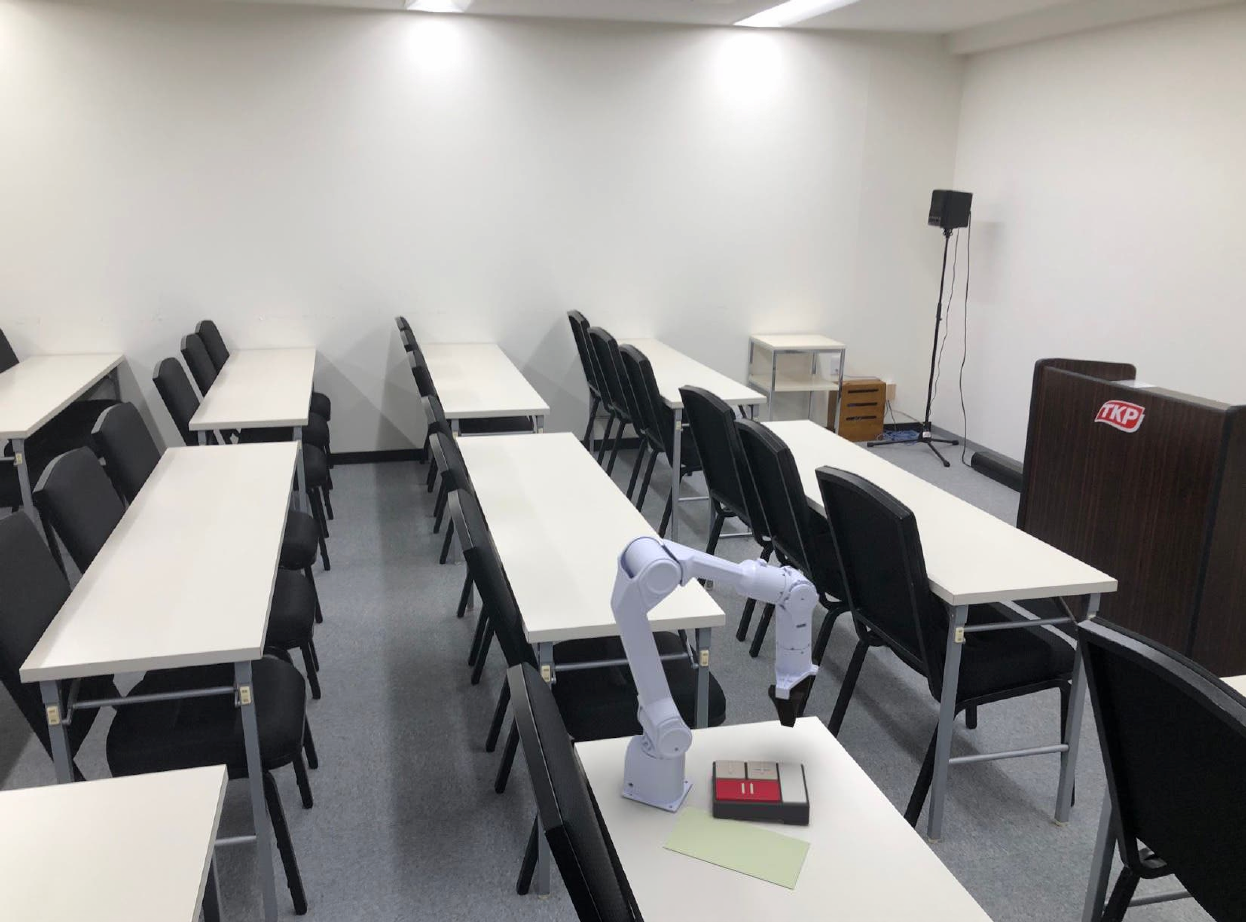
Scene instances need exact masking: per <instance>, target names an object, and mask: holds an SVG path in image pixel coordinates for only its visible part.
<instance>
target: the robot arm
mask: <svg viewBox="0 0 1246 922" xmlns="http://www.w3.org/2000/svg"><path fill="white" fill-rule="evenodd" d="M659 540H660V541H661V542H659ZM659 540H658V539H656V538H655V537H654V536H650V535H648V534H647V535H646V534H645V535H644V534H643V535H639V536H636V537H634V538H632V539H630V540H629V542H628V543H627V544H626V545H625V547H624V548H623V550H622V551H621V552H620V554H619V555H618V556H617V572H616V576H615V581H614V585H613V589H612V594H611V598H610V601H609V602H610V609H611V611H612V614H613V615H612V616H613V618H614V621H615V624H616V627H617V630H618V633H619V636H620V640H621V643H622V646H623V650H624V652H625V655H626V658H627V662H628V664H629V667H630V671H631V675H632V677H633V680H634V684H635V687H636V690H637V693H638V695H636V698H637V701H638V708H637V709H638V710H637V720H638V722H639V723H640V725H641V726H642V727H643V733H642V735H639V734H638V735H637V734H634V736H632V738H631V739H630V741H629V743H628V745H627V748H626V752H625V756H624V765H623V766H624V768H623V770H624V771H623V790H622V792H621V796H622V797H624V798H628V799H630V800H634V801H637V802H640V803H644V804H647V805H650V806H653V807H657V808H660V809H662V810H667V811H669V812H673V813H674V812H677V811H678V809H679V808H680V807H681V804H682V802H683V801H684V800H685V798H686V796H687V794H688V793H689V790H690V789H691V787H692V785H693V782H692V781H691V780H687V779H685V772H686V771H685V769H686V752H688V750H689V749H690V747H691V746H692V742H693V733H692V731H691V729H690V727H689V726H688V725H687V724H686V723H685V721H684V719H683V718H682V716H681V714H680V712H679V710H678V707H677V705H676V703H675V701H674V699H673V696H672V694H671V693H672V692H671V691H670V687H669V684H668V681H667V677H666V674H665V671H664V667H663V664H662V661H661V657H660V654H659V650H658V647H657V644H656V641H655V638H654V634H653V630H652V627H651V624H650V622H649V621H650V620H649V618H648V613H649V612H650V611H652V610H653V609H654V608H655V607H656V606H658V604H660V603H661V602H662V601H664V600H665V598H667V597H668V596H670V594H671V593H673V592H674V591H675V590H676V589H677V588H678V586H680V587H681V588H684V587H685V586H686V585H687V584H688V583H689V582H690V581H691V580H692V579H693V578H698V579H702V580H708V581H711V582H716V583H721V584H726V585H732V586H733V588H734V590H735V591H736V593H737V594H738V595H740V596H743V597H746V598H750V599H753V600H758V601H760V602H763V603H768V604H772V605H775V662H774V672H775V678H776V679H775V680H776V684H775V685H774V684H770V685H769V687H768V689H767V695H768V698H769V699H770V700H771V701H772V703H773V705H774V707H775V709H776V712H777V716H778V720H779V722H780V723H779V724H780V725H781V726H782V727H787V728H792V729H793V728H794V727H795V724H796V721H797V715H798V709H799V705H800V703H801V702H802V703H805V702H806V700H807V697H808V693H809V690H810V689H809V688H810V684H811V681H812V677H813V676H816V675H817V674H818V673H819V670H820V669H819V666H818V665H819V661H818V660H817V659H815V658H812V619H813V611H814V609H815V607H816V606H817V604H818V603H819V599H820V594H818V593H817V588H816V586H815V585H814V584H813V583H812V582H811V581H810V580H809V579H807V577H806V576H804V575H803V574H802V573H801V572H800V571H799V570H797V569H795V568H793V567H792V566H790V565H785V566H782V567H778V566H773V565H769V564H768V562H767V561H766V560H765V559H763V558H759V557H757V559H756V560H752V559H745V560H743V561H741V562H740V563H736V562H732V561H730V560H728V559H724V558H721V557H719V556H718V557H717V556H715V555H711V554H709V553H707V552H703V551H700V550H697V549H695V548H691V547H688V546H686V545H683V544H680V543H678V542H675V541H672V540H669V539H665V538H659ZM660 543H662V545H661V544H660Z"/></svg>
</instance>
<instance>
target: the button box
mask: <svg viewBox="0 0 1246 922" xmlns="http://www.w3.org/2000/svg"><path fill="white" fill-rule="evenodd" d="M804 767H805V766H804V765H803V764H802V763H798V762H796V763H795V762H776V761H766V760H765V761H763V760H748V761H744V760H728V759H727V760H725V759H724V760H723V759H716V760H715V761H713V762H712V813H713V817H714V818H729V819H732V820H759V821H760V820H761V821H767V820H768V821H780V822H781V823H783V824H786V825H788V824H789V825H809V824H810V810H811V809H810V808H811V807H810V805H811V804H810V799H809V798H810V797H809V793H808V786H807V780H806V774H805V768H804Z"/></svg>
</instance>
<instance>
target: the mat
mask: <svg viewBox="0 0 1246 922" xmlns="http://www.w3.org/2000/svg"><path fill="white" fill-rule="evenodd" d="M810 845H811V842H808V841H806V840H805V841H804V840H801V839H798V838H795V837H792V836H788V835H785V834H782V833H779V832H775V831H771V830H769V829H765V828H762V827H759V826H755V825H752V824H749V823H745V822H741V821H739V820H737V819H729V818H714V817H713V812H709V811H706V810H702V809H700V808H695V807H692V806H689V805H686V806H685V808H684V810H683V812H682V814H681V815H680V817H679V819H678V820H677V821H676V823H675V825H674V827H673V828H672V831H671V832H670V834H669V836H668V837H667V839H666V841H665V842H664V844H663V846H662V848H664V849H666V850H671V851H673V852H675V853H680V854H681V855H686V856H688V857H691V858H695V859H697V860H700V861H704V862H706V863H710V864H713V865H715V866H716V865H717V866H719V867H722V868H726V869H729V870H731V871H735V872H738V873H741V874H743V875H747V876H751V877H753V878H757V879H759V880H762V881H766V882H768V883H771V884H775V885H778V886H780V887H784V888H787V889H791V890H794V888H795V885H796V883H797V880H798V877H799V874H800V871H801V869H802V866H803V864H804V861H805V858H806V856H807V853H808V850H809V847H810Z"/></svg>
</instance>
